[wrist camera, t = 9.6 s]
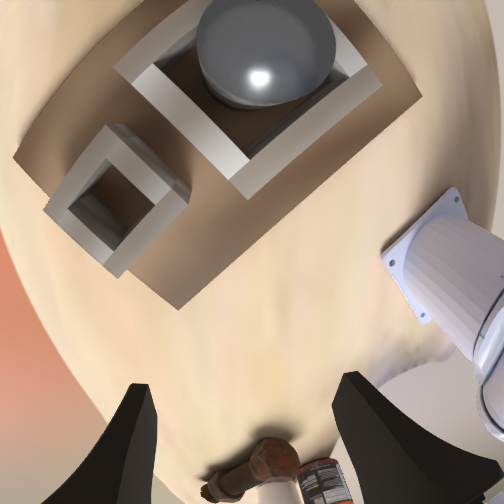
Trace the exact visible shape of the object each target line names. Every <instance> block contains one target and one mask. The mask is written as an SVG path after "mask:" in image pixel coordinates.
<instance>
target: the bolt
mask: <svg viewBox="0 0 504 504" xmlns="http://www.w3.org/2000/svg"><path fill="white" fill-rule="evenodd" d="M299 467H300V461H299V457H298V454H297V452H296V451H295V449H294V448H293V447H292V446H291V445H290V444H289V443H287V442H286V441H284V440H282V439H278V438H263V439H262V440H261V441H259V442H258V443H257V445H256V447H255V449H254V451H253V454H252V456H251V458H250V460H249V461H247V462H246V463H244V464H243V465H241V466H239V467H237V468H235V469H233V470H231V471H228V470H219V471H217V472H215V473H214V474H213V475H212V477H211V478H210V480H209V482H208V483H207V484H205V485H203V486H202V487H201V491H203V492H200V493H201V497H203V498H205V499H206V500H207V501H209V502H211V503H218V502H228V503H235V502H237V501H240V499H241V498H242V497H243V495H244V493H245V491H246V490H248V489H251V488H253V487H255V486H257V485H259V484H261V483H263V482H265V481H271V482H285V483H287V482H289V481H291V480H293V479H294V478H295V477H296V475H297V473H298V471H299Z"/></svg>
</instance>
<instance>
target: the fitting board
mask: <svg viewBox="0 0 504 504" xmlns="http://www.w3.org/2000/svg"><path fill="white" fill-rule="evenodd" d="M212 1H214V0H145V1H144V2H143V3H142V4H140V5H139V6H138V7H137V8H136V9H135V10H133V11H132V12H131V13H130V14H129V15H128V16H127V17H125V18H124V19H123V20H122V21H121V22H120V23H119V24H118V25H117V26H116V27H115V28H113V29H112V30H111V31H110V32H109V33H108V34H107V35H106V36H105V37H104V38H103V39H102V40H101V41H100V42H99V43H98V44H97V45H96V46H95V47H94V49H93V50H92V51H91V52H90V53H89V54H88V55H87V56H86V57H85V58H84V59H83V60H82V62H81V63H80V64H79V65H78V66H77V67H76V68H75V70H74V71H73V72H72V73H71V74H70V76H69V77H68V78H67V79H66V80H65V82H64V83H63V84H62V85H61V87H60V88H59V89H58V90H57V92H56V93H55V94H54V96H53V97H52V98H51V100H50V101H49V102H48V104H47V105H46V106H45V108H44V109H43V111H42V112H41V114H40V115H39V116H38V118H37V119H36V121H35V122H34V124H33V125H32V127H31V128H30V130H29V132H28V133H27V135H26V136H25V138H24V139H23V141H22V143H21V144H20V146H19V148H18V149H17V151H16V153H15V155H14V156H13V159H14V160H15V161H16V162H17V163H18V164H19V166H20V167H21V168H22V169H23V170H24V171H25V172H26V173H27V174H28V175H29V176H30V177H31V179H32V180H33V181H34V182H35V183H36V184H37V185H38V186H39V187H40V188H41V189H42V190H43V191H44V192H45V193H46V194H47V195H48V196H49V197H50V200H49V201H48V203H47V204H46V206H45V208H44V209H43V211H44V212H45V213H46V214H47V215H48V216H49V217H50V218H51V219H52V220H53V221H54V222H55V223H56V224H57V225H58V226H60V227H61V228H62V229H63V230H64V231H65V232H66V233H67V234H68V235H69V236H70V237H71V238H72V239H73V240H74V241H75V242H76V243H78V244H79V245H80V246H81V247H82V248H83V249H84V250H85V251H86V252H87V253H89V254H90V255H91V256H92V257H93V258H94V259H95V260H96V261H98V262H99V263H100V264H101V265H102V266H103V267H104V268H106V269H107V270H108V271H109V272H110V273H111V274H113V275H114V276H115V277H116V278H117V279H118V278H119V277H120V276H121V275H122V274H123V273H124V272H125V271H126V269H128V270H129V271H130V272H131V273H132V274H134V275H135V276H136V277H137V278H138V279H139V280H141V281H142V282H143V283H144V284H146V285H147V286H148V287H149V288H150V289H152V290H153V291H154V292H155V293H157V294H158V295H159V296H160V297H162V298H163V299H164V300H165V301H167V302H168V303H169V304H171V305H172V306H173V307H174V308H176V309H177V310H179V309H181V308H182V307H183V306H184V305H185V304H186V303H187V302H188V301H190V300H191V299H192V298H193V297H194V296H195V295H196V294H197V293H199V292H200V291H201V290H202V289H203V288H204V287H205V286H206V285H208V284H209V283H210V282H211V281H212V280H213V279H214V278H215V277H217V276H218V275H219V274H220V273H221V272H222V271H223V270H225V269H226V268H227V267H228V266H229V265H230V264H231V263H232V262H234V261H235V260H236V259H237V258H238V257H239V256H240V255H242V254H243V253H244V252H245V251H246V250H247V249H248V248H249V247H251V246H252V245H253V244H254V243H255V242H256V241H257V240H259V239H260V238H261V237H262V236H263V235H264V234H265V233H266V232H268V231H269V230H270V229H271V228H272V227H273V226H274V225H276V224H277V223H278V222H279V221H280V220H281V219H282V218H284V217H285V216H286V215H287V214H288V213H289V212H290V211H291V210H293V209H294V208H295V207H296V206H297V205H298V204H299V203H301V202H302V201H303V200H304V199H305V198H306V197H307V196H309V195H310V194H311V193H312V192H313V191H314V190H315V189H317V188H318V187H319V186H320V185H321V184H322V183H323V182H325V181H326V180H327V179H328V178H329V177H330V176H331V175H333V174H334V173H335V172H336V171H337V170H338V169H339V168H341V167H342V166H343V165H344V164H345V163H346V162H347V161H349V160H350V159H351V158H352V157H353V156H354V155H355V154H357V153H358V152H359V151H360V150H361V149H362V148H364V147H365V146H366V145H367V144H368V143H369V142H370V141H372V140H373V139H374V138H375V137H376V136H377V135H378V134H380V133H381V132H382V131H383V130H384V129H385V128H387V127H388V126H389V125H390V124H391V123H392V122H393V121H395V120H396V119H397V118H398V117H399V116H400V115H402V114H403V113H404V112H405V111H406V110H407V109H408V108H410V107H411V106H412V105H413V104H414V103H415V102H417V101H418V100H419V99H420V98H421V97H422V95H421V93H420V91H419V89H418V88H417V86H416V85H415V83H414V81H413V80H412V78H411V77H410V75H409V73H408V72H407V70H406V69H405V67H404V66H403V64H402V63H401V61H400V60H399V58H398V57H397V55H396V54H395V53H394V51H393V50H392V48H391V47H390V46H389V44H388V43H387V41H386V40H385V39H384V37H383V36H382V35H381V34H380V32H379V31H378V30H377V28H376V27H375V26H374V25H373V23H372V22H371V21H370V20H369V18H368V17H367V16H366V15H365V14H364V12H363V11H362V10H361V9H360V8H359V7H358V5H357V4H356V3H355V2H354V1H353V0H313V1H314V2H315V3H316V4H317V5H318V6H319V7H320V8H321V9H322V10H323V12H324V13H325V14H326V16H327V17H328V19H329V21H330V23H331V25H332V28H333V30H334V34H335V38H336V56H335V61H334V64H333V67H332V69H331V71H330V73H329V75H328V76H327V77H326V79H325V80H324V81H323V82H322V83H321V85H320V86H319V87H317V88H316V89H315V90H313V91H312V92H311V93H309V94H307V95H305V96H303V97H301V98H299V99H296V100H292V101H289V102H285V103H281V104H277V105H273V106H270V107H266V108H262V109H259V110H254V111H239V110H234V109H231V108H228V107H226V106H224V105H222V104H220V103H219V102H218V101H216V100H215V99H214V98H213V97H212V96H211V95H210V93H209V92H208V91H207V89H206V87H205V85H204V82H203V79H202V74H201V68H200V63H199V57H198V51H197V44H196V34H197V28H198V24H199V21H200V19H201V17H202V14H203V13H204V11H205V10H206V8H207V7H208V6H209V5H210V4H211V2H212Z"/></svg>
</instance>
